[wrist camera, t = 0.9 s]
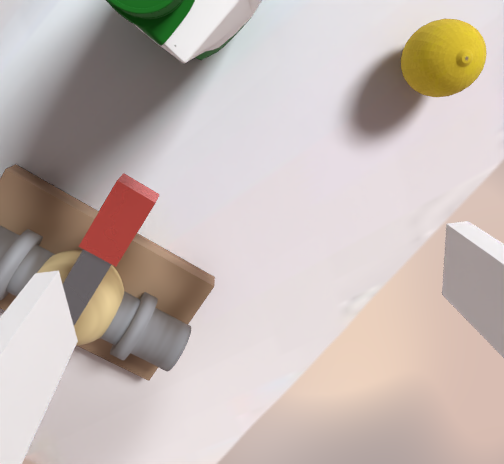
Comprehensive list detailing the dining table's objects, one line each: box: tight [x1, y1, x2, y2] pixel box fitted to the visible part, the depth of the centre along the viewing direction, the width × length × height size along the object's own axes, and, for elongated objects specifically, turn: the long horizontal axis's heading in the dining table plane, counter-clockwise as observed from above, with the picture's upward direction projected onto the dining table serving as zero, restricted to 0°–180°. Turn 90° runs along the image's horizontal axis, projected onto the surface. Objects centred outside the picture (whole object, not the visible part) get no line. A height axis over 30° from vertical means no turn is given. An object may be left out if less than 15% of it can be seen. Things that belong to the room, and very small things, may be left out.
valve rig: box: [0, 164, 215, 381], centre depth 39 cm, size 20×12×10 cm, turn 57°
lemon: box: [401, 19, 486, 97], centre depth 35 cm, size 6×6×8 cm
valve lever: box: [63, 174, 159, 325], centre depth 31 cm, size 15×3×2 cm, turn 147°
